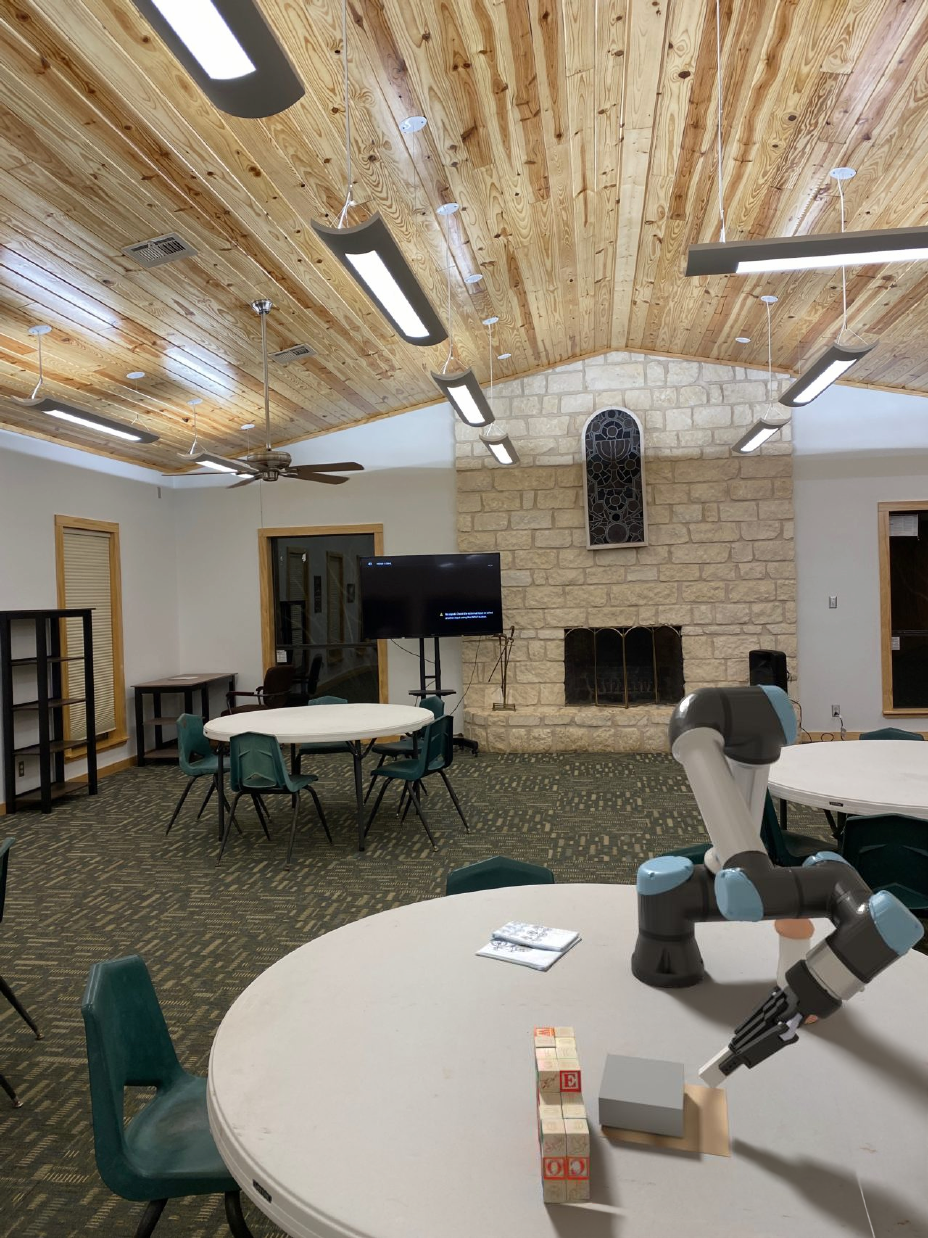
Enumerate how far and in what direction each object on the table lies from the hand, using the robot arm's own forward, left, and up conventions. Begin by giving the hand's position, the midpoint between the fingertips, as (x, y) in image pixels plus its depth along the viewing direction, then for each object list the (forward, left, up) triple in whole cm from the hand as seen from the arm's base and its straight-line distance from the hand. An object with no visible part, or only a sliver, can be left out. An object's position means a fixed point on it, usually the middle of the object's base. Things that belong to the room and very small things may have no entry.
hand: (705, 1079), depth 117 cm
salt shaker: (-38, -14, -7) cm, 41 cm away
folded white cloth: (-12, -67, -7) cm, 69 cm away
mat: (+4, -4, -6) cm, 9 cm away
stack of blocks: (+22, -7, -7) cm, 24 cm away
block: (+2, -2, -3) cm, 5 cm away
